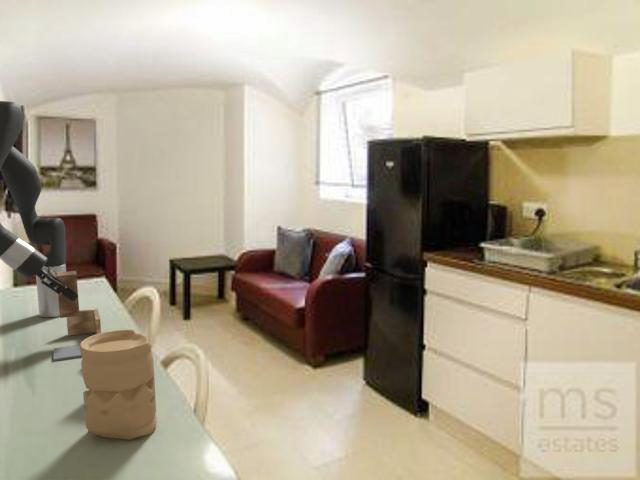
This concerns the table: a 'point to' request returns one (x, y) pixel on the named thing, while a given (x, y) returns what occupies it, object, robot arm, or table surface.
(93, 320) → the shelf end
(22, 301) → the table surface
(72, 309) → the plate
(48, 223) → the robot arm
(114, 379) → the container
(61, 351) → the mat
